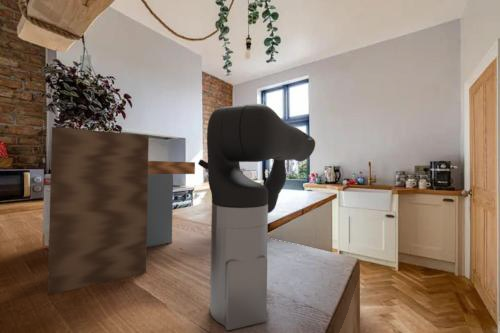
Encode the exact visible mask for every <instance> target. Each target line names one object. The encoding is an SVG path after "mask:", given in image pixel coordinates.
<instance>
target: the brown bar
mask: <svg viewBox="0 0 500 333" xmlns="http://www.w3.org/2000/svg"><path fill="white" fill-rule="evenodd" d="M195 164H196V162H195V161H165V160H163V161H162V160H148V174H173V175H195V172H196V165H195Z"/></svg>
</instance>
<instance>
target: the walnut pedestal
mask: <svg viewBox="0 0 500 333" xmlns="http://www.w3.org/2000/svg"><path fill="white" fill-rule="evenodd" d="M149 136H150V135H148V134H137V133H136V134H135V133H126V132H113V131H101V130H92V129H91V130H90V129H79V128H68V127H57V126H51V143H50V144H51V151H50V154H51V155H50V174H51V184H50V224H49V249H48V263H47V264H48V266H47V267H48V270H47V273H48V274H47V296H51V295H55V294H56V295H57V294H60V293H65V292H68V291H73V290H77V289H82V288H86V287H90V286H91V287H92V286H94V285H98V284H99V285H100V284H103V283H106V282H112V281H117V280H120V279H124V278H129V277H134V276H137V275H143V274H146V273H147V248H148V247H147V196H148V161H149V144H150V143H149Z"/></svg>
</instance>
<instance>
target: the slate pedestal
mask: <svg viewBox="0 0 500 333" xmlns="http://www.w3.org/2000/svg"><path fill="white" fill-rule="evenodd" d="M173 198H174V174H148V196H147V247H146V248H149V247H155V246H160V245H161V244H162V245H167V244H166V243H168V244H171V243H173V206H174V205H173V201H174V199H173ZM162 245H161V246H162Z"/></svg>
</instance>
